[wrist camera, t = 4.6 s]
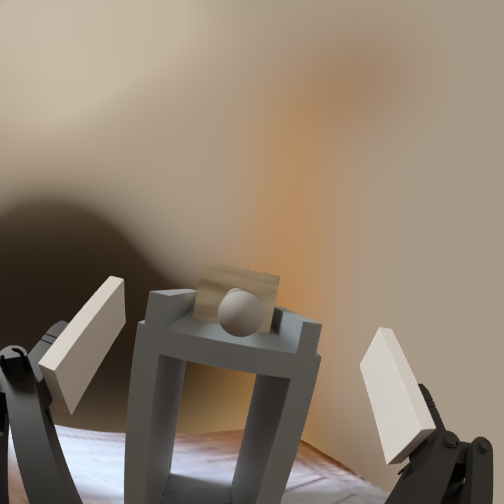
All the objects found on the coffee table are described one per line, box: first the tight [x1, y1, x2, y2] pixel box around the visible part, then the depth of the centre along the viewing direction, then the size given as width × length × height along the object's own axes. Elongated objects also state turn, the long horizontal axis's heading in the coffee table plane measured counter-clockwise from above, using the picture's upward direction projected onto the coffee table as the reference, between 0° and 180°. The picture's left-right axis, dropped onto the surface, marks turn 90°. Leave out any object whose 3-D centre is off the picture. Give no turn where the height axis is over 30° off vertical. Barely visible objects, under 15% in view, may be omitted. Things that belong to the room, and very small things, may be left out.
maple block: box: [192, 261, 280, 337], centre depth 27 cm, size 27×8×6 cm, turn 4°
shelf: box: [124, 289, 322, 504], centre depth 30 cm, size 20×14×31 cm
